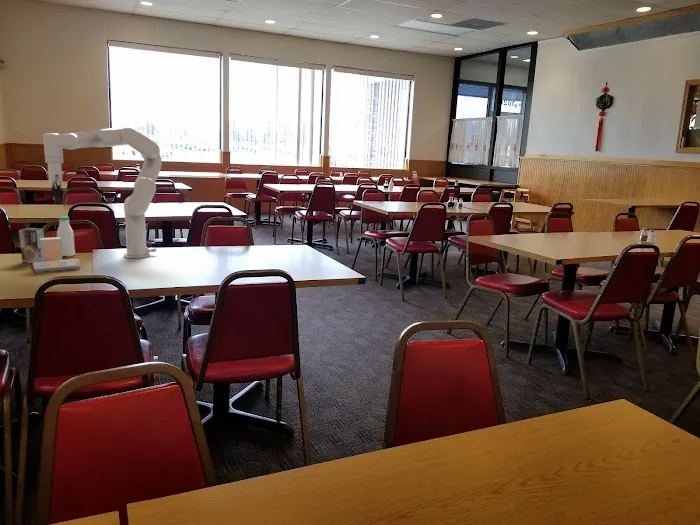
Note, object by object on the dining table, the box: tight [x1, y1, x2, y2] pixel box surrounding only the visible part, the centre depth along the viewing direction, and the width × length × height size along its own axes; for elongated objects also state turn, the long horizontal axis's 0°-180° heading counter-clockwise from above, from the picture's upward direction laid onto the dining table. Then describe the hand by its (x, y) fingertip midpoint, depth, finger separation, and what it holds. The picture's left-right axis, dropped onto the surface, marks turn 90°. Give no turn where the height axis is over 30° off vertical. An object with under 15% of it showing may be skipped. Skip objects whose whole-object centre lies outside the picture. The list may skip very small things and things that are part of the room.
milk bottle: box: [56, 215, 76, 257], centre depth 277 cm, size 8×8×20 cm
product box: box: [40, 236, 63, 262], centre depth 250 cm, size 5×8×12 cm, turn 123°
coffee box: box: [18, 227, 46, 264], centre depth 261 cm, size 9×6×16 cm
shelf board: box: [32, 258, 81, 273], centre depth 251 cm, size 18×15×4 cm
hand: (57, 196), depth 260 cm, fingers open, 9 cm apart
